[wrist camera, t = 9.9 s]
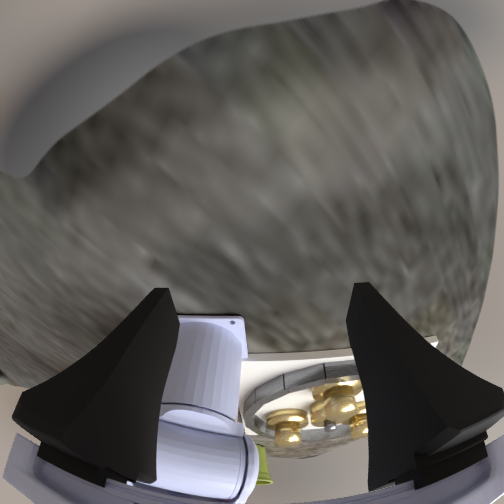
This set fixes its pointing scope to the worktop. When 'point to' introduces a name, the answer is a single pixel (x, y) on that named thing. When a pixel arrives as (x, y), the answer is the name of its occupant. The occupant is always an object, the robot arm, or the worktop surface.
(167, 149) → the worktop surface
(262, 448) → the plant pot
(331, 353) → the board
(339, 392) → the gear
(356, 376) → the ring gear
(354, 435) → the sun and planets
